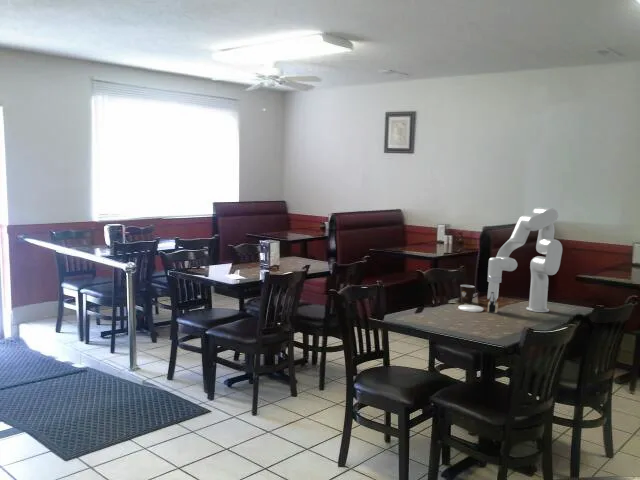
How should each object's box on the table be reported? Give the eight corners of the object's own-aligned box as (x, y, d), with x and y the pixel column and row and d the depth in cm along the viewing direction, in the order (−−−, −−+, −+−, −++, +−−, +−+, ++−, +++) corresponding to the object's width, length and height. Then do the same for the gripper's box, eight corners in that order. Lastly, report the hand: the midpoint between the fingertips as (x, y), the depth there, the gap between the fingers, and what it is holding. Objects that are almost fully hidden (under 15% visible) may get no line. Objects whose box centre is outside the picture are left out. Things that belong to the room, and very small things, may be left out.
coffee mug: (456, 300, 359) (457, 284, 358) (468, 300, 361) (469, 284, 361) (466, 304, 348) (467, 288, 347) (479, 304, 350) (480, 288, 349)
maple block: (488, 310, 334) (489, 301, 333) (497, 311, 332) (498, 302, 331) (487, 311, 329) (487, 303, 329) (496, 312, 327) (497, 304, 327)
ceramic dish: (460, 305, 344) (460, 303, 343) (484, 308, 338) (485, 306, 338) (456, 310, 331) (456, 308, 331) (481, 313, 325) (481, 311, 325)
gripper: (489, 276, 338) (487, 307, 340) (485, 280, 323) (483, 312, 324) (503, 278, 335) (501, 309, 337) (499, 282, 320) (497, 314, 321)
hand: (492, 310), depth 330 cm, fingers closed on maple block, 4 cm apart
